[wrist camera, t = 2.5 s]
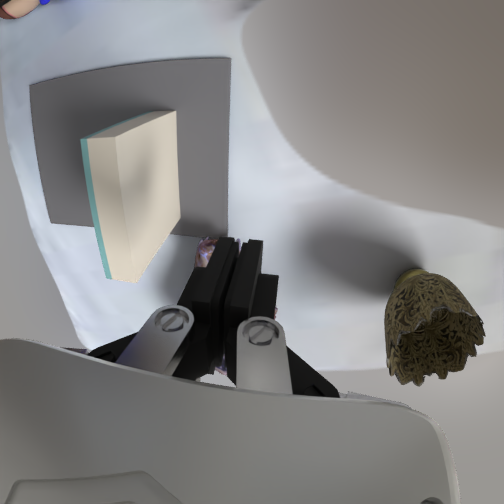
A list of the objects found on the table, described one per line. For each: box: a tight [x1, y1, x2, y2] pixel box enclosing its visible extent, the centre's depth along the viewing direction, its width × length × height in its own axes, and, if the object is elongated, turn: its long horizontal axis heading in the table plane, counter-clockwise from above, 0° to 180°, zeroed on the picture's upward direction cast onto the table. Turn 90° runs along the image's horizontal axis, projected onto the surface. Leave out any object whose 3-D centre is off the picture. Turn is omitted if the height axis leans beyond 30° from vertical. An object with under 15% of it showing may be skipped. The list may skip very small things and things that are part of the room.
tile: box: [80, 111, 181, 283], centre depth 18 cm, size 8×2×8 cm, turn 178°
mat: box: [30, 58, 231, 239], centre depth 21 cm, size 13×17×1 cm
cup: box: [384, 268, 485, 386], centre depth 21 cm, size 8×7×8 cm
